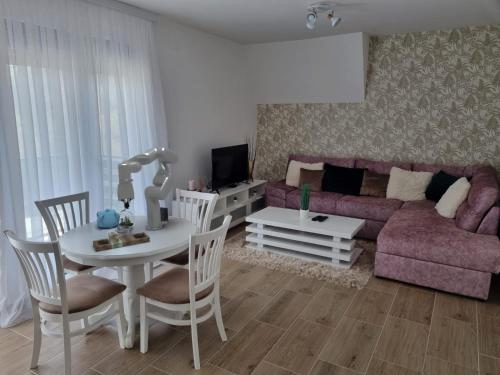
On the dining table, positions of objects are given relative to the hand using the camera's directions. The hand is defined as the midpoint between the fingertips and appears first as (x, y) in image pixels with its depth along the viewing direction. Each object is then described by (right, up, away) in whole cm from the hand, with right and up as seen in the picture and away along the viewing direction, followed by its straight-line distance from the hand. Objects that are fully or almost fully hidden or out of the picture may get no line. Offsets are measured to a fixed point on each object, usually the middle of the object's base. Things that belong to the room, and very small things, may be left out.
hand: (127, 208), depth 238 cm
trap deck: (-1, -23, -5) cm, 23 cm away
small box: (+12, -13, +45) cm, 48 cm away
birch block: (-5, -20, -9) cm, 23 cm away
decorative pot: (-24, -15, +31) cm, 42 cm away
